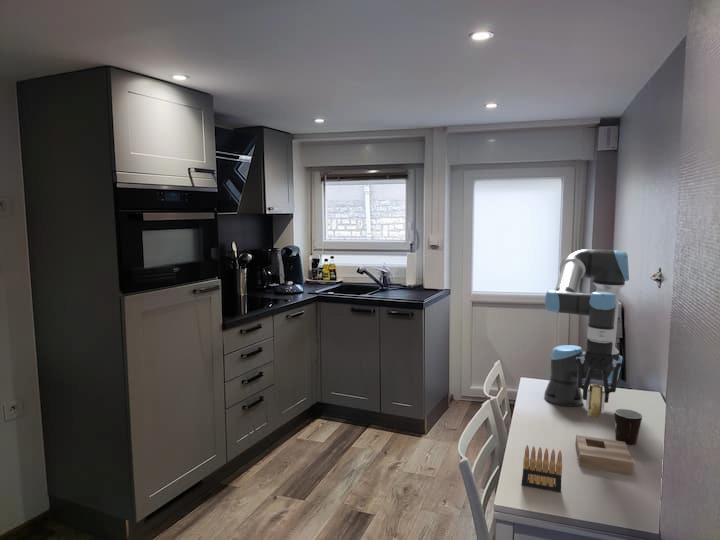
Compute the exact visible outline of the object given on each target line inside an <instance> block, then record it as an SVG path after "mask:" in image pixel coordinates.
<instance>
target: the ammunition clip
mask: <svg viewBox="0 0 720 540" xmlns="http://www.w3.org/2000/svg"><path fill="white" fill-rule="evenodd" d="M536 453H537V456H536ZM562 473H563V455H562V451H561V450H559V451H558V453H557V459H556V452H555V449H554V448H553V449H552V450H551V454H550V457H549V449H548V448H547V447H546V448H545V451H544V454H543V451H542V447H541V446H540V447H539V448H538V450H537V452H536V447H535V446H534V445H533V446H532V449H531V453H530V447H529V445H528V444H526V446H525V450H524V456H523V463H522V475H521V486H523V487H527V488H534V489H539V490H543V491H544V490H545V491H551V492H555V493H560V494H561V493H562V478H563V477H562Z"/></svg>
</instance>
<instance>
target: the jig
mask: <svg viewBox="0 0 720 540" xmlns="http://www.w3.org/2000/svg"><path fill="white" fill-rule="evenodd" d="M574 445H575V446H576V447H575V452H576V456H577V457H578V458H577V457H576V458H577V463H578V467H580V466H581V468H587V469H593V470H599V471H604V472H611V473H615V474H617V473H618V474H623V475H630V476H633V474H634V460H633V457H632V454H631V452H630V450H629V448H628V445H626V443H625V442H621V441H616V439H615V440H614V439H607V438H599V437H593V436H588V435H580V434H576V435H575V444H574Z"/></svg>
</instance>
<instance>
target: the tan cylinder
mask: <svg viewBox="0 0 720 540" xmlns="http://www.w3.org/2000/svg"><path fill="white" fill-rule="evenodd" d="M588 389H589V390H590V399H589V411H587V416H588V417H590V418H594V419H600V418H601V415H602V413H601V402H602V391H603V390H604V385H601V384H597V383H591V384H589V388H588Z"/></svg>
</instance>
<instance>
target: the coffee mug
mask: <svg viewBox="0 0 720 540" xmlns="http://www.w3.org/2000/svg"><path fill="white" fill-rule="evenodd" d="M642 421H643V415H642V414H641V413H640V412H638V411H635V410H633V409H626V408H618V409H614V429H615V441H621V442H625V443H626V445H627V446H635V445H636V444H637V442H638V437H639V432H640V429H641V424H642Z"/></svg>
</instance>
